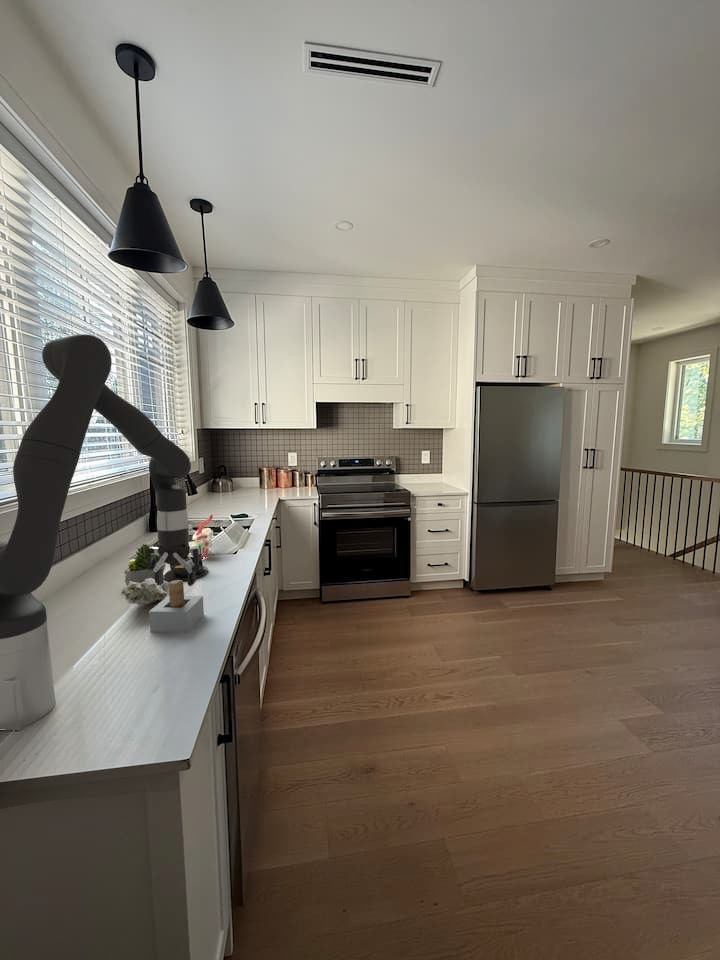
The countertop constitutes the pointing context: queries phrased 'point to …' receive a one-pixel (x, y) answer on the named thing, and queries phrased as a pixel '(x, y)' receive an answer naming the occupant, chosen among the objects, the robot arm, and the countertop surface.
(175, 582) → the peg
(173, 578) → the soup bowl
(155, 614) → the socket
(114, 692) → the countertop surface
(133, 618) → the countertop surface
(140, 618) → the countertop surface
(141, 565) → the potted plant
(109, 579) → the countertop surface
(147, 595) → the rock
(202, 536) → the anatomical model
